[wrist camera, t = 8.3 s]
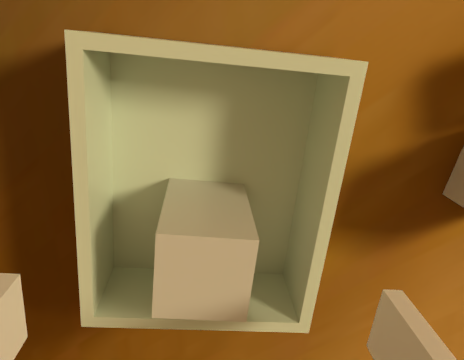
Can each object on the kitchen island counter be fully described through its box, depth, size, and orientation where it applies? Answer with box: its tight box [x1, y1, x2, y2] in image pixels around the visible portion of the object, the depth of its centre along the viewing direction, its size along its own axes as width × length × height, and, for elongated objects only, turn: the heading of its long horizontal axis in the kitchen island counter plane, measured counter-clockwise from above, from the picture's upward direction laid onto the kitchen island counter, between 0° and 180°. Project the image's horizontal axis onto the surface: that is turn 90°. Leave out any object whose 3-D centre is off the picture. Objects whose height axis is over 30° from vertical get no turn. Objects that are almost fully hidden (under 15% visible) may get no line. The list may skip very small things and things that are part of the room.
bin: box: [64, 30, 368, 333], centre depth 18 cm, size 13×11×4 cm
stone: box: [152, 178, 259, 322], centre depth 18 cm, size 4×4×6 cm
